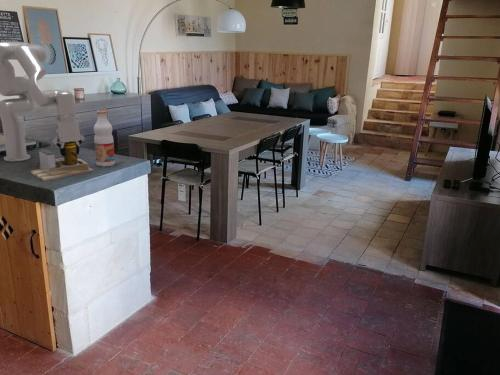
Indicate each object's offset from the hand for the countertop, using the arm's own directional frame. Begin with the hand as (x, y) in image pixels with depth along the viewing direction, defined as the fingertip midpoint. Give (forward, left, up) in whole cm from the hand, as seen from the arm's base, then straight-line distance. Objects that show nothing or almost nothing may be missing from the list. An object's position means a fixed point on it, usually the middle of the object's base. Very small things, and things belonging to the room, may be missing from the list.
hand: (70, 154), depth 211 cm
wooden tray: (0, -5, -8) cm, 10 cm away
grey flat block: (0, -11, -7) cm, 13 cm away
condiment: (0, -1, -5) cm, 5 cm away
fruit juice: (-1, +18, -9) cm, 20 cm away
